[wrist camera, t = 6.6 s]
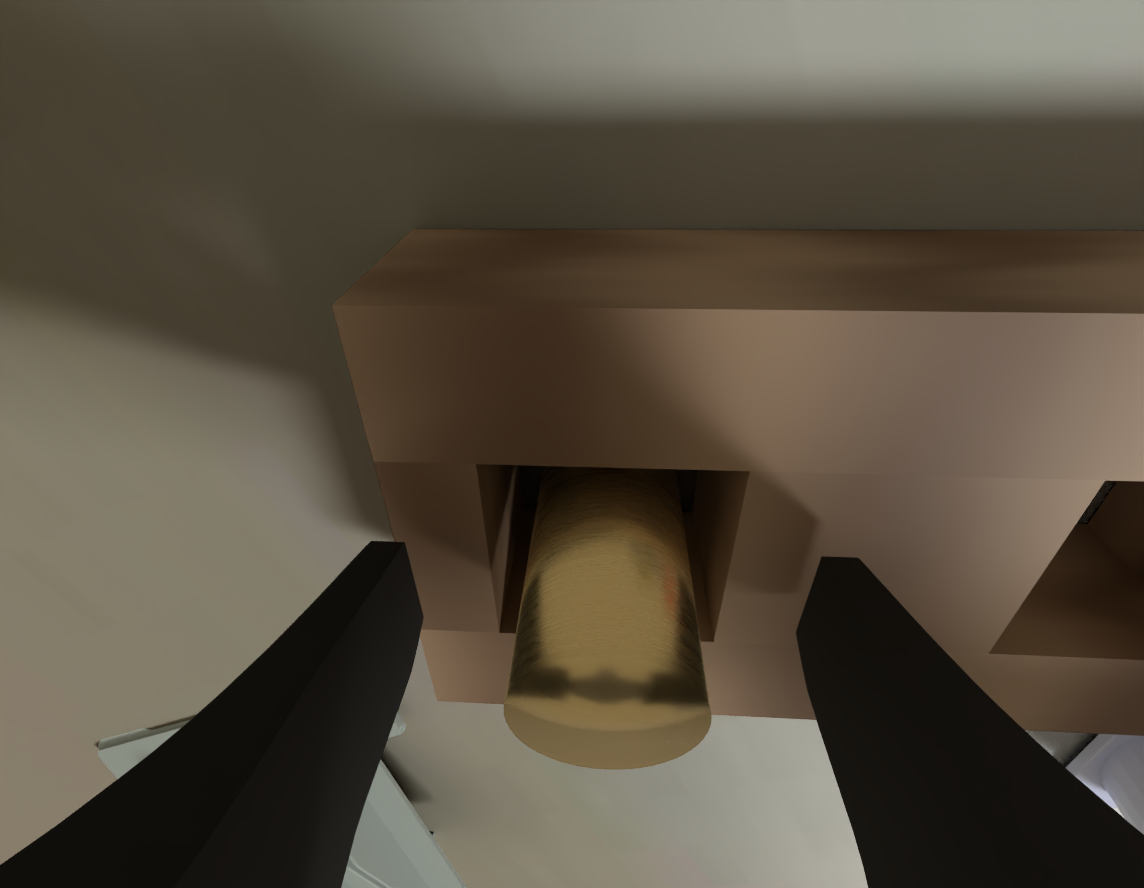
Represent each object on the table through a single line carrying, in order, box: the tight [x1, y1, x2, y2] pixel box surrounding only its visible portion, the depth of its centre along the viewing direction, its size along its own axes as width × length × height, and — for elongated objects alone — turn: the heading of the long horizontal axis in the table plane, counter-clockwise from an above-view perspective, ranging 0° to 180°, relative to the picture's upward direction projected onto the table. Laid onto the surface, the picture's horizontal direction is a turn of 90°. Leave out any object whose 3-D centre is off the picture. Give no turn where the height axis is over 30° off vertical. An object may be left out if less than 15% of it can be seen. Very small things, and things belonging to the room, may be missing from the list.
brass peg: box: [504, 466, 711, 769], centre depth 11 cm, size 3×3×7 cm
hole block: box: [332, 229, 1144, 736], centre depth 12 cm, size 18×10×4 cm, turn 91°
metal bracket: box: [98, 712, 467, 888], centre depth 25 cm, size 14×6×15 cm
